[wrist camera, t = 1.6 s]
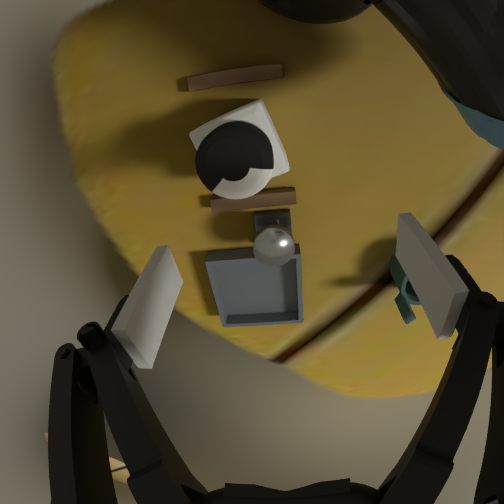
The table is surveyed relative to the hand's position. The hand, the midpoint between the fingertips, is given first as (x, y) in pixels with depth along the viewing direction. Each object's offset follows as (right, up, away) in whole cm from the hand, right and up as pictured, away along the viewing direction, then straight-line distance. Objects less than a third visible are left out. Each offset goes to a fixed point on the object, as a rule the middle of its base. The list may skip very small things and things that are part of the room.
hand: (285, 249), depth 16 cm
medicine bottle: (-3, +13, +15) cm, 20 cm away
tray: (-1, -5, +26) cm, 26 cm away
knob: (+1, +3, +21) cm, 21 cm away
